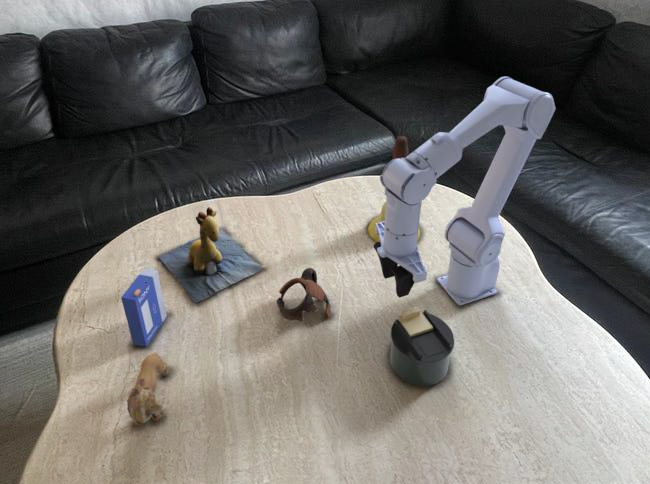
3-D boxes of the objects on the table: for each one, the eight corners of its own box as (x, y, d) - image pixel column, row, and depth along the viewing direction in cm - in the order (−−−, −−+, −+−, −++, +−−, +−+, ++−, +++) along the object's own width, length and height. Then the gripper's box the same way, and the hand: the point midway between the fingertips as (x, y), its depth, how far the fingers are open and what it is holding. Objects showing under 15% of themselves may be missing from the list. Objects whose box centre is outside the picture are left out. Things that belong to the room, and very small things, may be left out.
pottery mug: (333, 332, 96) (312, 311, 91) (290, 340, 100) (268, 320, 95) (336, 276, 105) (317, 254, 100) (296, 285, 108) (276, 265, 104)
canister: (377, 347, 93) (380, 317, 89) (428, 330, 96) (432, 300, 92) (407, 396, 84) (411, 366, 80) (462, 375, 88) (468, 345, 84)
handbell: (371, 212, 129) (376, 122, 116) (421, 218, 126) (431, 127, 114) (365, 243, 118) (370, 148, 106) (419, 250, 116) (430, 154, 104)
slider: (396, 319, 90) (397, 311, 89) (419, 311, 91) (420, 304, 91) (409, 337, 86) (410, 330, 86) (433, 329, 88) (434, 322, 87)
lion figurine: (168, 440, 78) (159, 403, 73) (131, 448, 77) (120, 411, 72) (170, 361, 90) (162, 324, 86) (138, 366, 89) (129, 330, 85)
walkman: (146, 347, 93) (134, 298, 87) (133, 344, 93) (120, 295, 88) (168, 314, 100) (158, 267, 94) (155, 312, 100) (144, 265, 94)
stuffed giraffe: (195, 303, 102) (186, 237, 95) (158, 258, 114) (148, 197, 107) (263, 271, 111) (260, 208, 104) (222, 232, 123) (216, 174, 116)
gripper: (361, 207, 91) (358, 265, 98) (402, 258, 79) (396, 320, 86) (396, 198, 93) (391, 256, 100) (441, 247, 82) (432, 308, 88)
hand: (395, 285), depth 93 cm, fingers open, 4 cm apart
